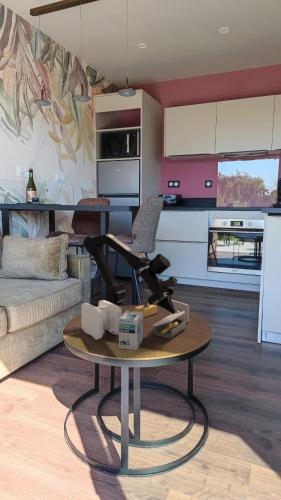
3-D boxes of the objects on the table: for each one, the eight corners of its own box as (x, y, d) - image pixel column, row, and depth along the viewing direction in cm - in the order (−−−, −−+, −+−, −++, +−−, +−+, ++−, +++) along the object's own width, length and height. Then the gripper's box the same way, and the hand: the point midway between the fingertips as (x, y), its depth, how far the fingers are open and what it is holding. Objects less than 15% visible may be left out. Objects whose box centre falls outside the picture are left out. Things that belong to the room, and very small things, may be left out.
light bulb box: (137, 350, 113) (137, 320, 112) (117, 348, 114) (118, 318, 113) (143, 339, 124) (143, 311, 123) (125, 337, 125) (126, 309, 124)
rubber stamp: (143, 317, 150) (144, 291, 149) (134, 315, 154) (135, 289, 153) (157, 313, 158) (158, 288, 157) (148, 310, 161) (148, 286, 160)
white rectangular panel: (153, 326, 129) (152, 324, 129) (168, 317, 141) (167, 315, 141) (170, 321, 125) (169, 319, 125) (184, 312, 137) (184, 310, 137)
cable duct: (153, 334, 129) (153, 327, 129) (168, 324, 141) (168, 318, 141) (171, 338, 125) (172, 331, 125) (185, 328, 137) (186, 321, 137)
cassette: (189, 322, 146) (190, 305, 145) (186, 322, 145) (187, 305, 144) (171, 315, 155) (171, 299, 155) (168, 315, 154) (168, 299, 154)
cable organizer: (79, 330, 132) (80, 301, 131) (102, 325, 138) (103, 298, 137) (98, 342, 120) (98, 311, 119) (122, 336, 126) (123, 306, 125)
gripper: (158, 270, 124) (183, 305, 120) (174, 268, 141) (196, 298, 137) (137, 287, 128) (160, 322, 124) (155, 283, 145) (176, 313, 141)
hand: (174, 313), depth 131 cm, fingers closed
